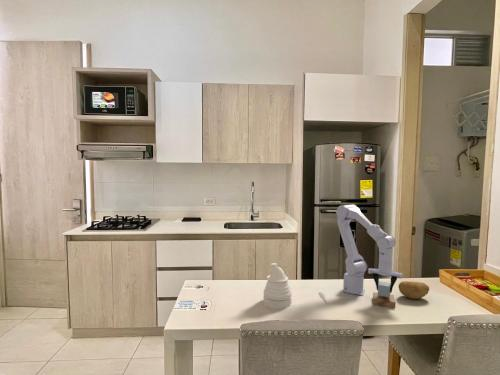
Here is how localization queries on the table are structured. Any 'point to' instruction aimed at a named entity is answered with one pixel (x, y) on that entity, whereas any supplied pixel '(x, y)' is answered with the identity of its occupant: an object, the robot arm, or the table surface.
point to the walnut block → (384, 300)
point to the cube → (384, 289)
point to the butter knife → (323, 297)
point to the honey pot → (277, 290)
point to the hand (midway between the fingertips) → (384, 290)
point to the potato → (413, 289)
